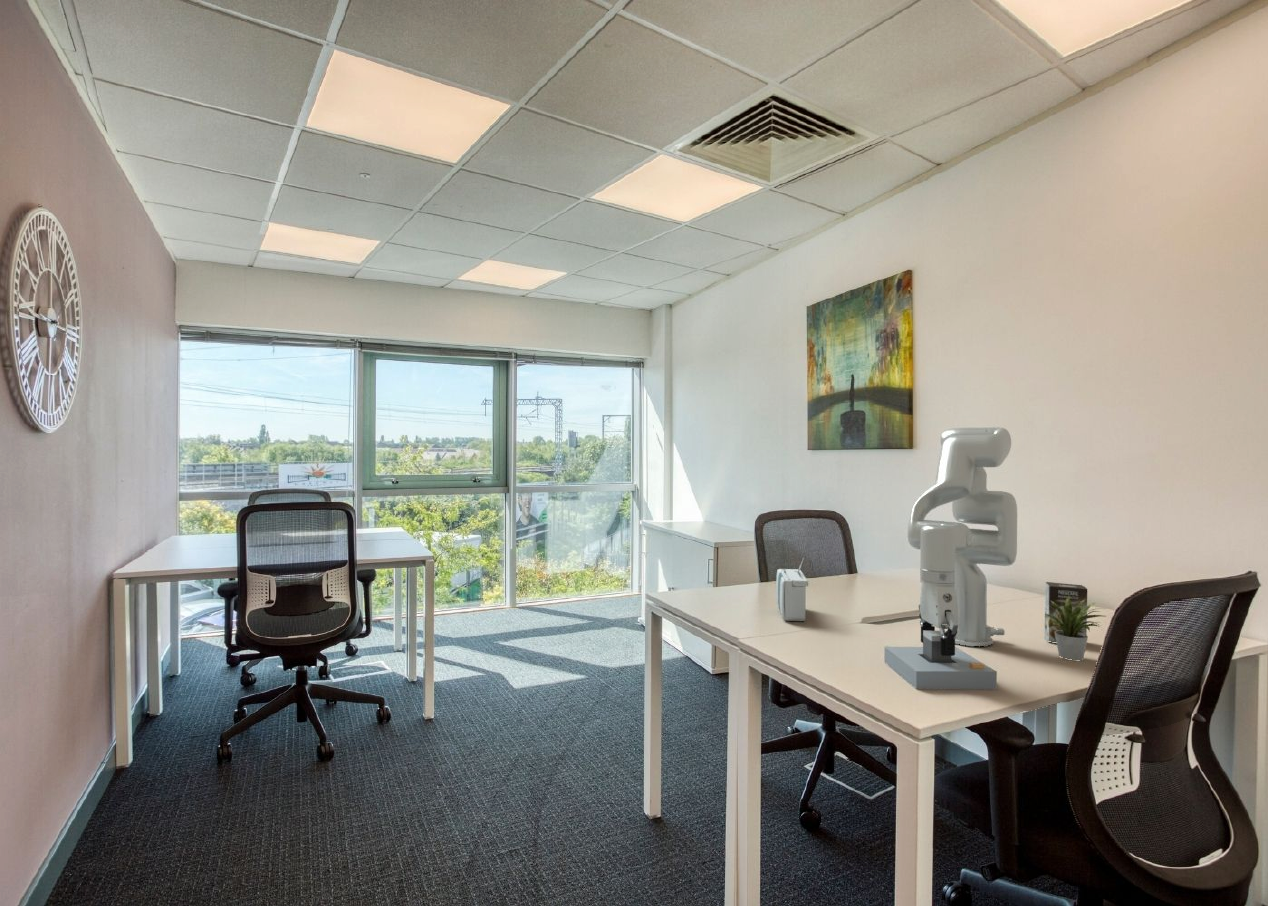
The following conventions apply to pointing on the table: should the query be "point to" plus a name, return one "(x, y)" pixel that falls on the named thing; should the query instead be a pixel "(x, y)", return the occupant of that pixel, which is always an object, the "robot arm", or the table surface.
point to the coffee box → (1061, 594)
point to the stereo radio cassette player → (791, 593)
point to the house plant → (1072, 629)
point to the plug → (933, 647)
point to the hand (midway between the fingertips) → (937, 648)
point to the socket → (940, 670)
